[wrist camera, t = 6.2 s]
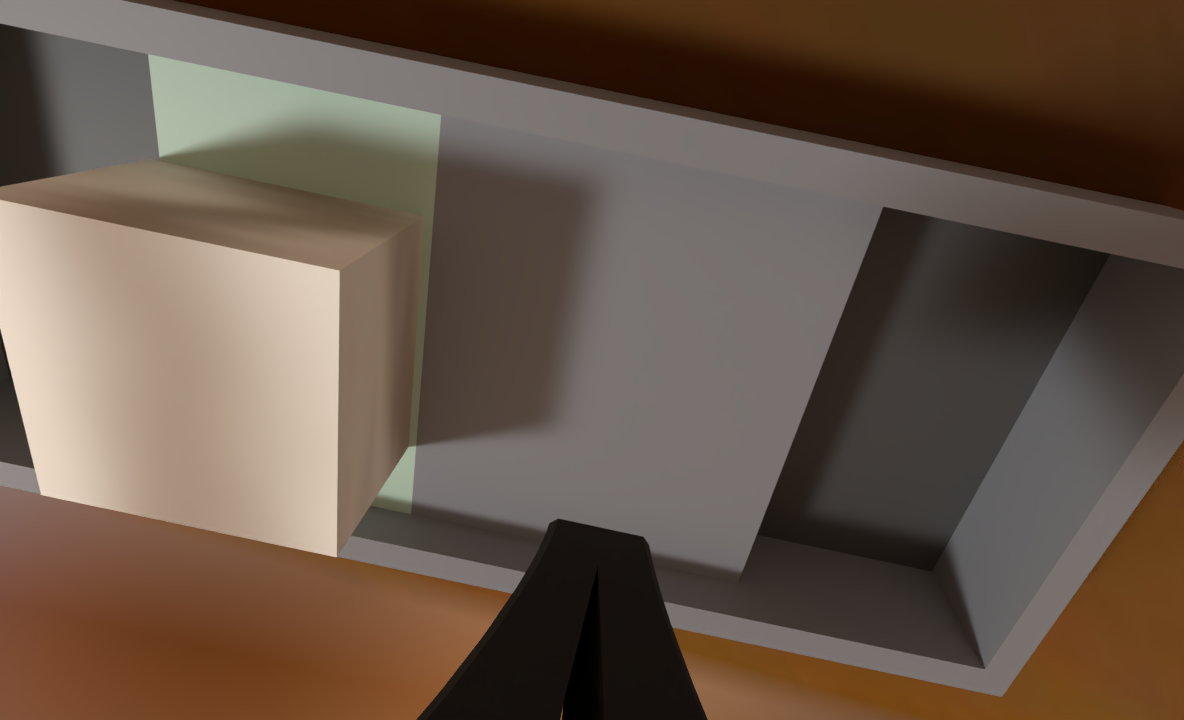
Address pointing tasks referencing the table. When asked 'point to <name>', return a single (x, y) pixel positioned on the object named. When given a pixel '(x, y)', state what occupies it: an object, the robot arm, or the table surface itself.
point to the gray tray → (681, 329)
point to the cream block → (210, 347)
